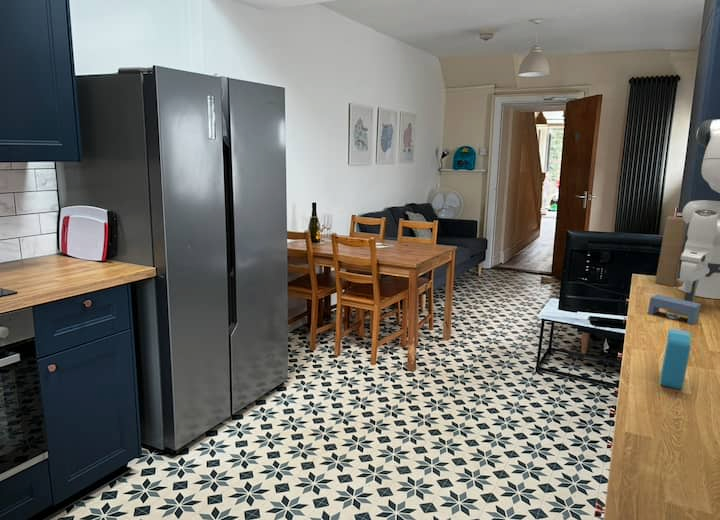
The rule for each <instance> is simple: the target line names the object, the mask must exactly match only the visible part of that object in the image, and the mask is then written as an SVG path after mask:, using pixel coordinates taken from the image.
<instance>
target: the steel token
mask: <svg viewBox="0 0 720 520" xmlns="http://www.w3.org/2000/svg"><path fill="white" fill-rule="evenodd" d="M665 317H666V318H669V319H672V320H679V319H680V315H679V314H676V313H666V316H665Z"/></svg>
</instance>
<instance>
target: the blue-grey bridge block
mask: <svg viewBox="0 0 720 520" xmlns="http://www.w3.org/2000/svg"><path fill="white" fill-rule="evenodd" d="M701 307H702V303H698V302H695V301H694V302H690V301H685V300H684V299H679V298H676V297H670V296H666V295H661V294H655V295H653V296H651V297H650V298H649V305H648V310H647V314H648V315H652V316H653V315H654V314H656V313H658V312H659V311H660V309H662V310H666V311H667V310H670V311H675V312H679V313H683V314H688V315H689V316H687V323H686V324H688V323H689V325H694V324H695V323H697V322H698V321H699V318H700V313H701Z"/></svg>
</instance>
